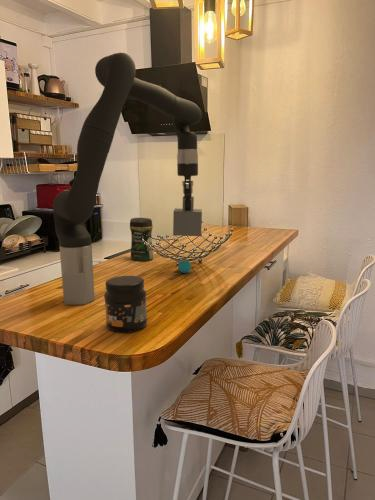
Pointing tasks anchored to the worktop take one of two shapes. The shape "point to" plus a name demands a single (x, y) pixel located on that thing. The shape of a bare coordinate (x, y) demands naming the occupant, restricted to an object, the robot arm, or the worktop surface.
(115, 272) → the worktop surface
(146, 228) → the coffee jar
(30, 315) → the worktop surface
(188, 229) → the gray stepped pedestal
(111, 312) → the supplement container
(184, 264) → the ball
